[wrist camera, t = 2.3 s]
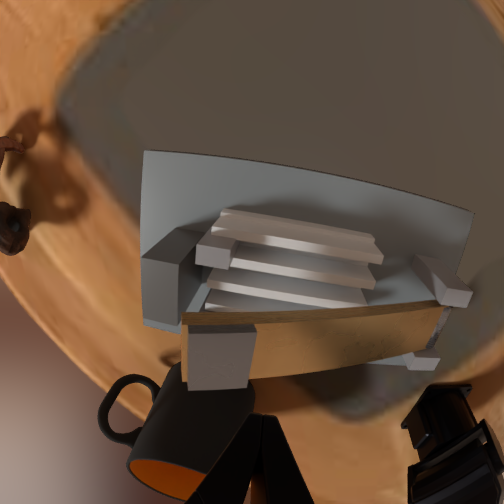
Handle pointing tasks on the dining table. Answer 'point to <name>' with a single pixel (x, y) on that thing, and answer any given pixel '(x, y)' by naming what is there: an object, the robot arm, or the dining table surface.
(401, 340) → the strap
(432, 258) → the board
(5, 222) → the vr controller
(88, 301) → the dining table surface
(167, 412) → the mug
